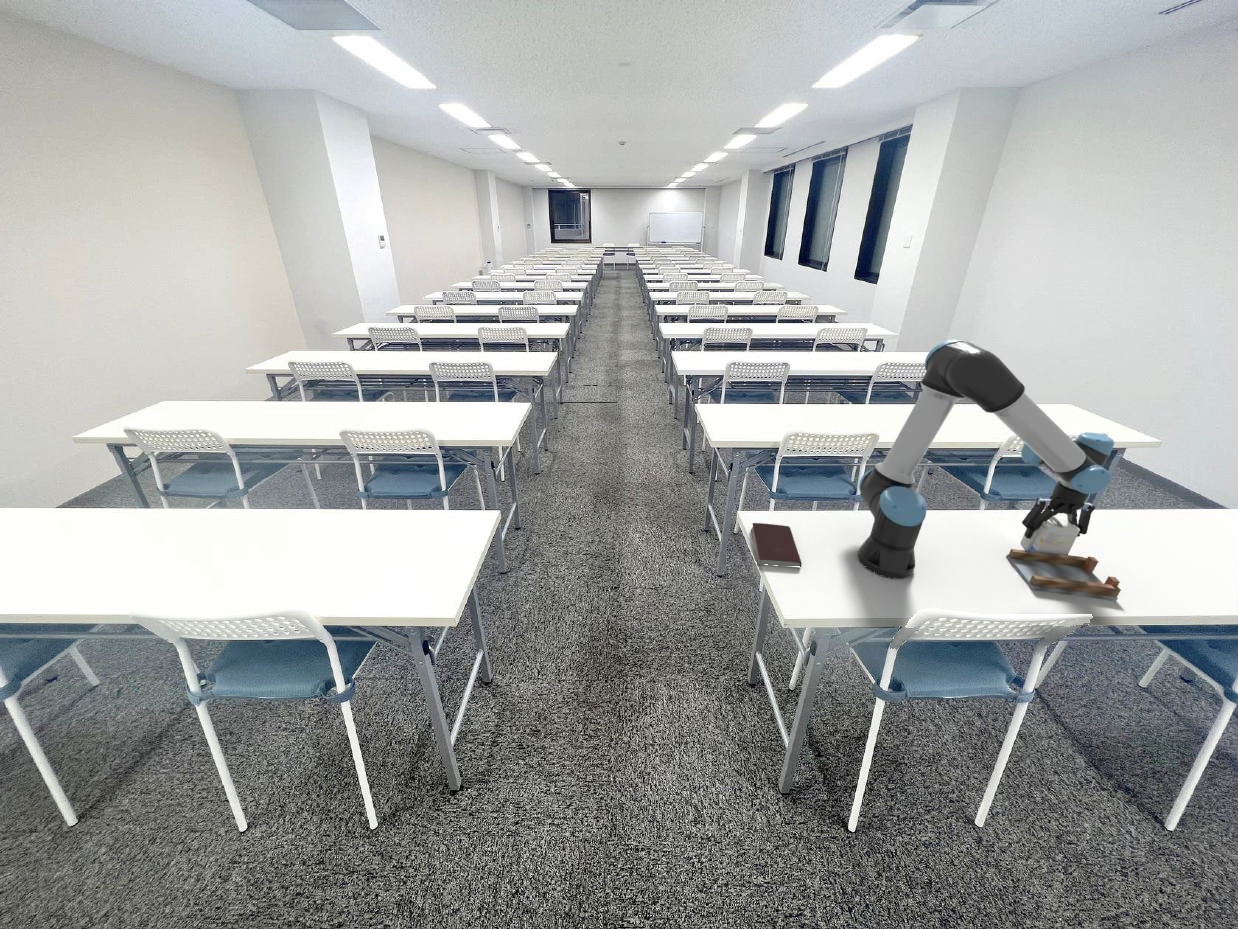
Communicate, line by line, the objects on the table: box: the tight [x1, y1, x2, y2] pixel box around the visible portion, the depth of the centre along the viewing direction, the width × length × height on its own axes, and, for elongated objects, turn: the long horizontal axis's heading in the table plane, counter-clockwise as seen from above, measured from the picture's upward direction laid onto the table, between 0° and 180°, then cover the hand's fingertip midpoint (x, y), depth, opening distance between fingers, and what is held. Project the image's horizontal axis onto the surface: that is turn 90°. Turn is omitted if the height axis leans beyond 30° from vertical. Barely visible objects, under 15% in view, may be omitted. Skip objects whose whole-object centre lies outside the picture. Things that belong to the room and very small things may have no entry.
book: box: [750, 522, 802, 567], centre depth 151 cm, size 12×19×3 cm, turn 172°
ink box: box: [1019, 514, 1080, 555], centre depth 146 cm, size 9×8×13 cm
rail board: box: [1005, 548, 1122, 601], centre depth 137 cm, size 20×15×5 cm
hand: (1043, 548), depth 148 cm, fingers closed on ink box, 8 cm apart
